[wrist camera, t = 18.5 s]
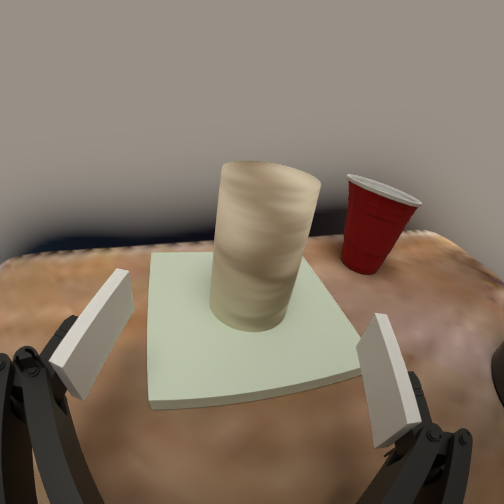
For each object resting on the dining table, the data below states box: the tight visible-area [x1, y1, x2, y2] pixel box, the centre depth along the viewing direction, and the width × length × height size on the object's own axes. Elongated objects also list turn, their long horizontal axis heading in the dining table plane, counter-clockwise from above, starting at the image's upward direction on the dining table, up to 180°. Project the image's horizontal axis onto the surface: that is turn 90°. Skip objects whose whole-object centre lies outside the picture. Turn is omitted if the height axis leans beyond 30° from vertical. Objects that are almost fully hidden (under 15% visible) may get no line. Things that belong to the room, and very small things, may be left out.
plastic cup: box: [342, 174, 422, 275], centre depth 34 cm, size 11×11×12 cm
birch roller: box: [210, 161, 321, 332], centre depth 22 cm, size 7×7×12 cm
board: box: [147, 252, 362, 410], centre depth 25 cm, size 18×18×2 cm
